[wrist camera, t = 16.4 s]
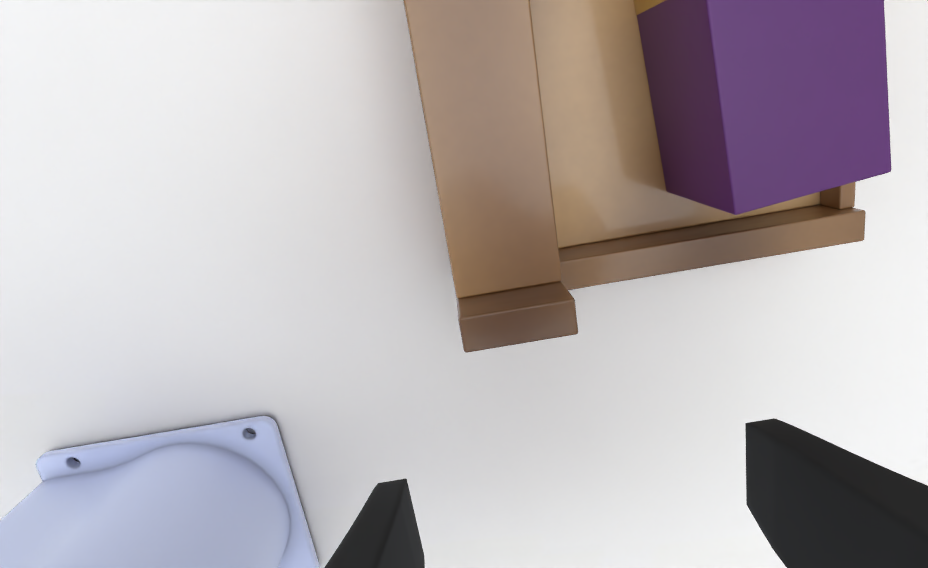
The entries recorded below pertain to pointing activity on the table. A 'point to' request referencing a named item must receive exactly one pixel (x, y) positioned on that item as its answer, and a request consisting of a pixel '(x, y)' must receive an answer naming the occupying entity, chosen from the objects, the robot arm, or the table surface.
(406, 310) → the table surface
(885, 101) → the chocolate bar
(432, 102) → the tray
